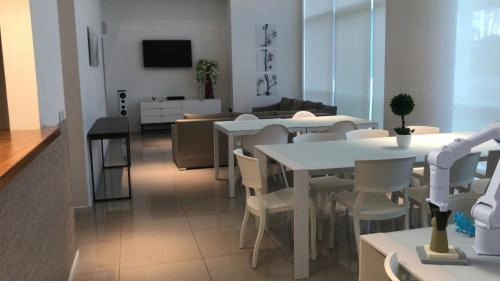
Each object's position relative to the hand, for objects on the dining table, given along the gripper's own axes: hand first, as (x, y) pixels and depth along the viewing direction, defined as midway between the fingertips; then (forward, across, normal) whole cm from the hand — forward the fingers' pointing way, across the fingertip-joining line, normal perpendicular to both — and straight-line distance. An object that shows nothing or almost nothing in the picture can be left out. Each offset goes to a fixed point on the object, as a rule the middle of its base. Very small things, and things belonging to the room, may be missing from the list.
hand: (438, 226), depth 156 cm
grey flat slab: (+10, 0, +1) cm, 10 cm away
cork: (+8, 0, 0) cm, 8 cm away
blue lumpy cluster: (+11, -25, +14) cm, 31 cm away
